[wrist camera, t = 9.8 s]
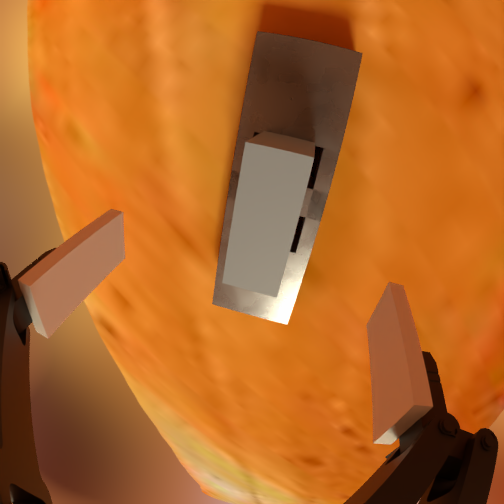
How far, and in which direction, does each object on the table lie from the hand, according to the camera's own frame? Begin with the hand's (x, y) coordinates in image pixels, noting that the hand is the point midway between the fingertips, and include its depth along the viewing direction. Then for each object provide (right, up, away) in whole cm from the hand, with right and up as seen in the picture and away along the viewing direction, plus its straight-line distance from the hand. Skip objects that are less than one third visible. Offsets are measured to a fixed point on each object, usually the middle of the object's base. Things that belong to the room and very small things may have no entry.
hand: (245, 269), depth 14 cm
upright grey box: (+3, +7, +14) cm, 16 cm away
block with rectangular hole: (+3, +7, +14) cm, 16 cm away
